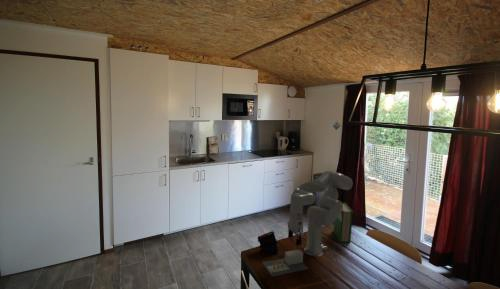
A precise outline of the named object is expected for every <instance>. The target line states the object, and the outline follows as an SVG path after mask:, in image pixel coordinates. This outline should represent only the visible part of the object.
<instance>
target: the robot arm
mask: <svg viewBox="0 0 500 289" xmlns="http://www.w3.org/2000/svg"><path fill="white" fill-rule="evenodd" d="M353 184H354V183H353V180H352V178H351V177H350V176H347V175H344V174H342V173H341V172H336V171H331V170H327V171H324V172H323V173H322V174H321V175H319V176H318V177H317V178H316V179H315V180H312V181H307V182H304V183H301V184H300V185H299V186H297V187H296V188H295V189H294V190H293V192H292V193H291V196H290V204H289V205H290V207H289V208H290V209H289V217H288V218H289V219H288V222H287V231H288V232H287V233H288V234H287V237H288V239H291V238H293V237H294V235H295V236H296V239H295V245H296V246H297V247H298V246H301V245H302V240H303V238H304V235H305V234H304V219H303V214H304V206H309V207H308V209H307V212H306V218H307V234H306V246H305V247H304V249H303V251H304V250H310V252H308V253H306V255H309V256H311V257H321V256H323V254H324V250H328V246H327V245H324V244H323V231H324V230H323V229H324V228H323V227H331V226H333V225H334V221H335V220H336V219H337V217H338V216H339V215H340V213H341V211H342V208H343V204H342V203H343V202H342V201H341V200H339V199H338V198H339V191H338V190H337V188H338V189H341V190H345V191H349V190H351V189H352V187H353ZM325 190H326V191H325ZM321 192H325V193H323V195H322V196H321V197H320V199H318V201H317V206H315V205H313V204H314V203H315V201H316V197H315V196H316V195H314V194H313V193H321Z"/></svg>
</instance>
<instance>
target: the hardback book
mask: <svg viewBox="0 0 500 289" xmlns="http://www.w3.org/2000/svg"><path fill="white" fill-rule="evenodd" d="M342 204H343V208H342V211H341V213H340V215H339V216H338V217H337V219H336V220H335V221H334V223H333V234H334V235H335V237H336V236H337V237H336V238H338V239H337V240H338V243H340V242H341V243H342V242H346V243H348V242H349V243H348V244H351V239H352V227H353V214H354V213H353V212H354V211H353V210H352V208H351V207H350V206H349V205H348V204H347V202H342Z"/></svg>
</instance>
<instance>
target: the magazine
mask: <svg viewBox="0 0 500 289" xmlns="http://www.w3.org/2000/svg"><path fill="white" fill-rule="evenodd" d="M257 242H258V243H259V248H260V253H261V254H262V253H264V254H278V252H279V248H278V239H277V238H276V235H275V231H273V230H271V231H269V232H265V233H263V234H261V235H258V236H257Z"/></svg>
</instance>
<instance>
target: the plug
mask: <svg viewBox="0 0 500 289" xmlns="http://www.w3.org/2000/svg"><path fill="white" fill-rule="evenodd" d="M308 252H310V250H304V249H303V250H301V249H295V250H289V251H284V258H285V262H286V263H287V264H288V265H291V264H297V263H302V262H303V263H304V260H303V259H304V254H307V253H308Z"/></svg>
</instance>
